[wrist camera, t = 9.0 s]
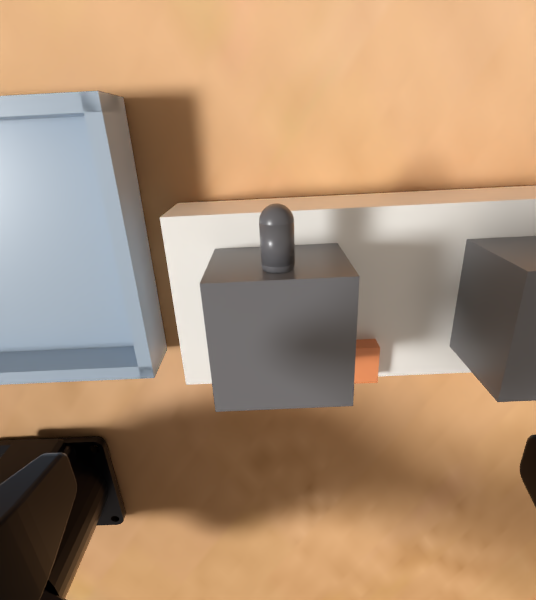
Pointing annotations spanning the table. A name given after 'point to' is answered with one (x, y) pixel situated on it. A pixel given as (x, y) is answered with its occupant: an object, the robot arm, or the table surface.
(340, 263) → the grey block with knob
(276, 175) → the table surface
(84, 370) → the tray
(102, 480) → the robot arm
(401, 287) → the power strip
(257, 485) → the table surface
